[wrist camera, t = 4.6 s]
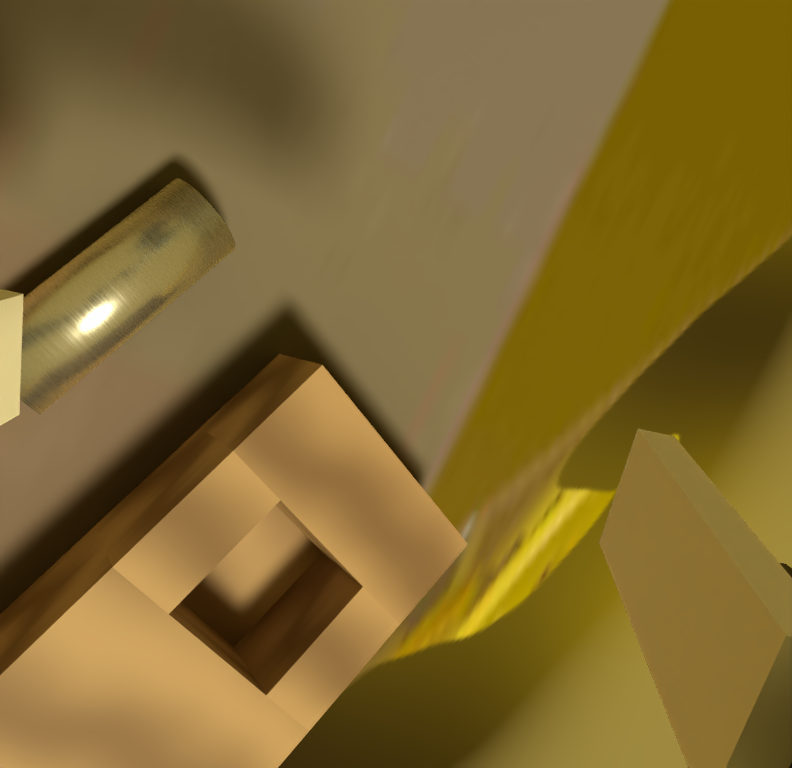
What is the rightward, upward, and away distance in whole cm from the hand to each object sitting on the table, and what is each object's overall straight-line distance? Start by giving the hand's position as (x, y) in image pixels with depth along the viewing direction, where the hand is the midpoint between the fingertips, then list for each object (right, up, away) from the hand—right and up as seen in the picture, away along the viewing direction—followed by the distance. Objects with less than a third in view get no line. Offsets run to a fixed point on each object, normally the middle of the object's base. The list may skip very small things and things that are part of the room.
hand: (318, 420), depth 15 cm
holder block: (-7, -9, +18) cm, 21 cm away
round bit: (-10, +4, +14) cm, 18 cm away
